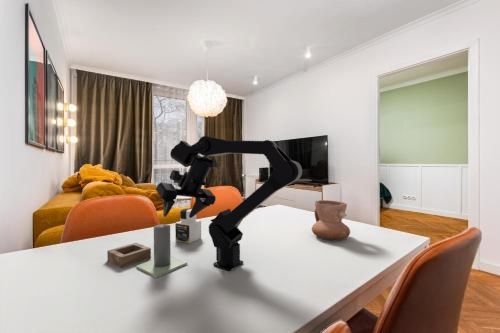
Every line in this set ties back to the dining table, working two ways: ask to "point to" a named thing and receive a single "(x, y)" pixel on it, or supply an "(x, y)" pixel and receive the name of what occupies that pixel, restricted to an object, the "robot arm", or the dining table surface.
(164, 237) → the plug
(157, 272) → the green mat
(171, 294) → the dining table surface
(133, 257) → the walnut collar
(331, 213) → the ceramic jug
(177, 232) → the medicine bottle
